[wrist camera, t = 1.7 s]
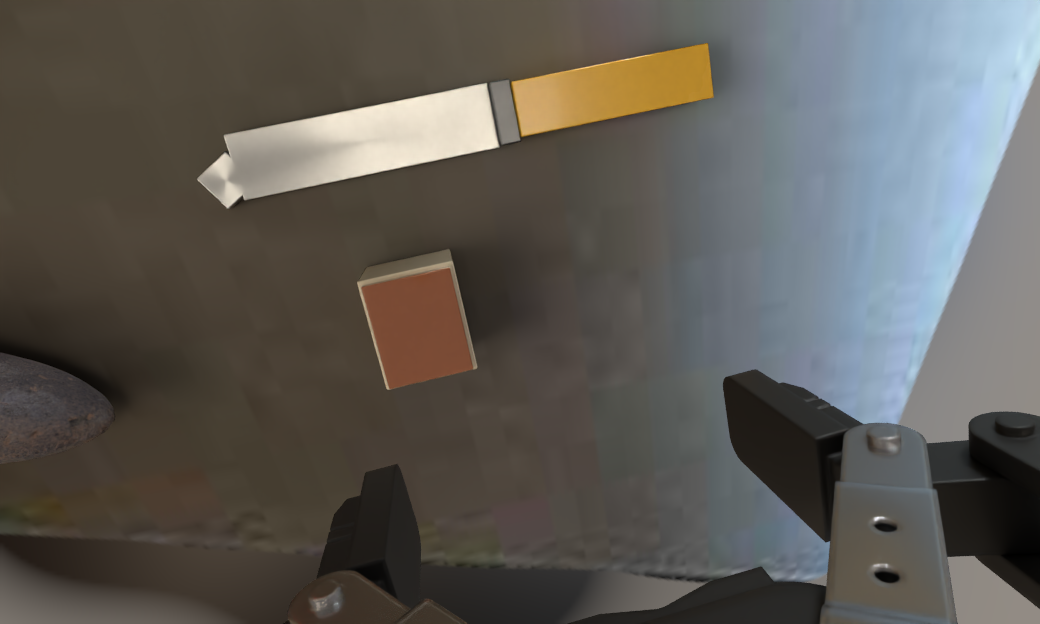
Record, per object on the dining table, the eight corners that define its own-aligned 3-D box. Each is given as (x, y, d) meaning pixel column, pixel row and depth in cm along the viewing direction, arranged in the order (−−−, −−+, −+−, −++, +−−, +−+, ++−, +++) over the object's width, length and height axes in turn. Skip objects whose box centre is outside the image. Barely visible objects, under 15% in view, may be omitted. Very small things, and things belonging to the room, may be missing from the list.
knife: (212, 212, 30) (197, 215, 28) (189, 142, 29) (172, 141, 28) (698, 111, 33) (715, 108, 31) (691, 43, 32) (707, 36, 30)
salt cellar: (392, 364, 34) (386, 394, 29) (365, 267, 32) (355, 284, 28) (472, 345, 34) (478, 372, 30) (450, 248, 32) (453, 262, 28)
